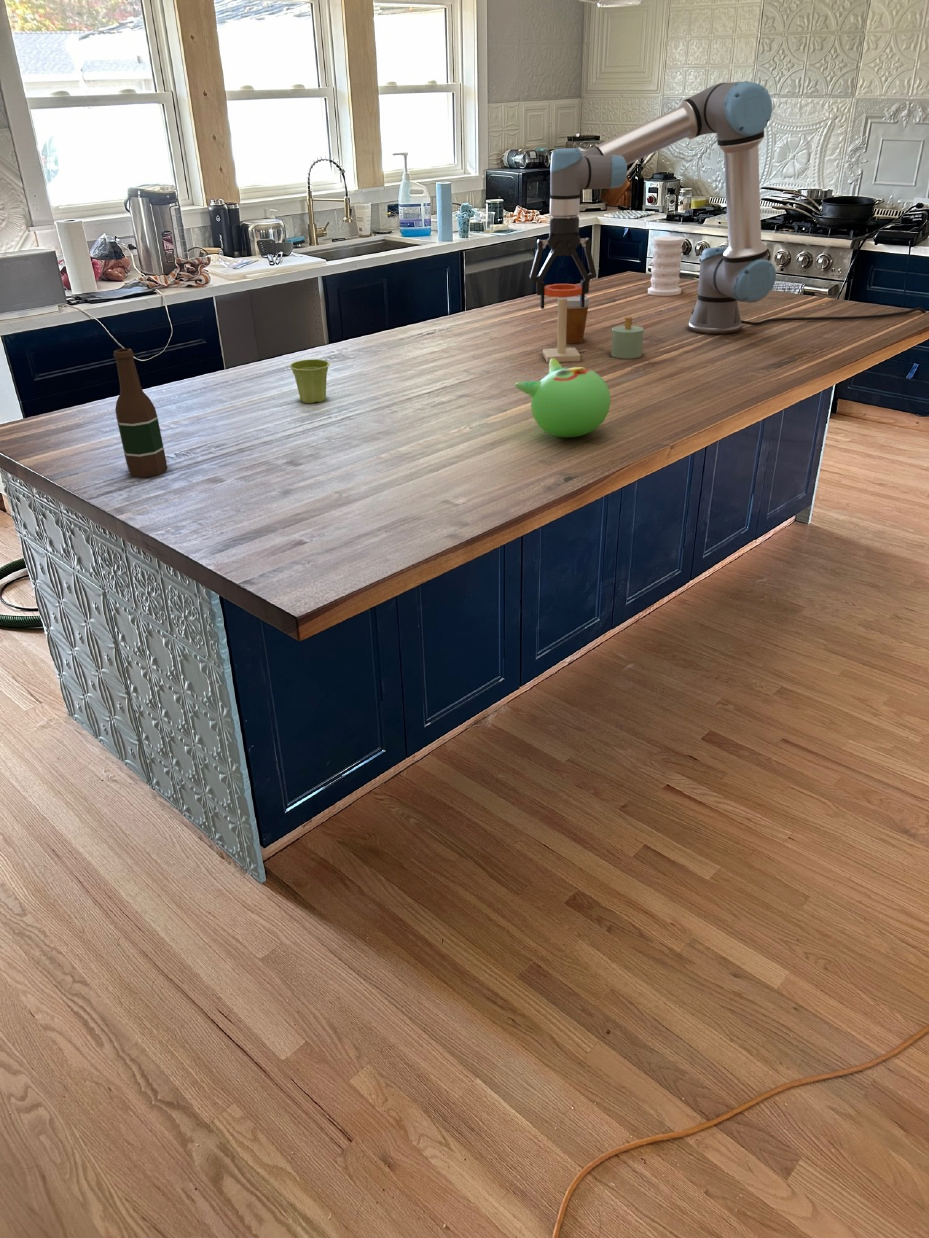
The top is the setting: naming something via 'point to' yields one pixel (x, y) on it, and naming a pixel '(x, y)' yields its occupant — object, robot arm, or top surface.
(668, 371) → the top surface
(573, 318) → the disposable coffee cup
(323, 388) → the plant pot
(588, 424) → the toy bird
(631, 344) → the green cylinder with peg
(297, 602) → the top surface
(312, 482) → the top surface
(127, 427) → the beer bottle
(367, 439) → the top surface
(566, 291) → the ring
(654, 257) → the decorative container
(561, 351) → the tall post
